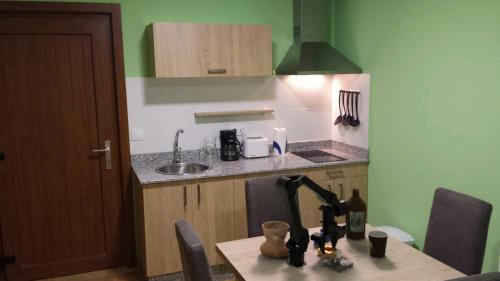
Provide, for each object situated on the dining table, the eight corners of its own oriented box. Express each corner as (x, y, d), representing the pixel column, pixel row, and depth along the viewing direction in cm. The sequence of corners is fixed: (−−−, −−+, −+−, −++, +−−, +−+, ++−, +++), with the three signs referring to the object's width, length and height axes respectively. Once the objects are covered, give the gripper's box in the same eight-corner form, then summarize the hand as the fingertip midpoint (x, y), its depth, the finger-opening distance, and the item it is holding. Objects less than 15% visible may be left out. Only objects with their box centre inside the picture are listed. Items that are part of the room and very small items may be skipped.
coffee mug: (388, 259, 199) (388, 237, 197) (368, 258, 201) (368, 236, 199) (386, 249, 210) (386, 228, 209) (366, 248, 212) (367, 228, 211)
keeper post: (340, 272, 187) (340, 255, 186) (323, 265, 194) (323, 249, 193) (353, 266, 193) (353, 249, 192) (336, 260, 200) (336, 243, 199)
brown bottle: (343, 233, 233) (343, 186, 230) (364, 233, 233) (364, 185, 229) (346, 240, 223) (346, 191, 219) (368, 240, 222) (369, 191, 219)
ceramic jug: (292, 262, 199) (292, 230, 197) (259, 262, 199) (259, 230, 198) (290, 247, 217) (290, 218, 215) (260, 247, 217) (259, 218, 216)
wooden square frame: (329, 258, 201) (329, 253, 201) (317, 254, 207) (317, 249, 206) (339, 254, 206) (339, 249, 206) (327, 250, 211) (327, 245, 211)
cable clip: (321, 237, 229) (321, 225, 229) (330, 238, 227) (330, 227, 226) (310, 244, 220) (310, 232, 219) (319, 246, 217) (319, 234, 216)
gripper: (329, 227, 192) (329, 262, 194) (355, 218, 204) (355, 251, 206) (309, 221, 200) (309, 255, 202) (336, 212, 212) (336, 244, 215)
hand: (328, 251), depth 206 cm, fingers closed on wooden square frame, 7 cm apart
